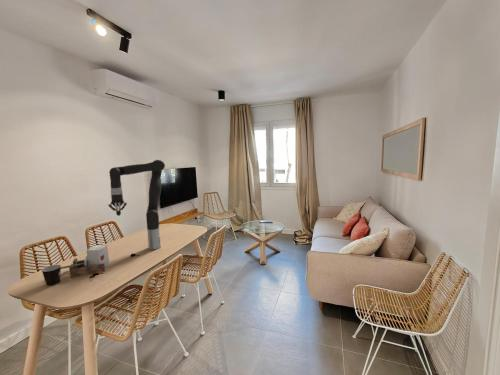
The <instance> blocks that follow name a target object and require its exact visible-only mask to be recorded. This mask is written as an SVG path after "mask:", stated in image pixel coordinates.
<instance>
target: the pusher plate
mask: <svg viewBox="0 0 500 375" xmlns="http://www.w3.org/2000/svg"><path fill="white" fill-rule="evenodd" d="M84 260H85V261H84V263H80V264H75V265H74V266H79V265H84V266H85V267H88V260H87V255H86V257H85V259H84ZM70 266H71V264H70V265H65V266H61V270H63V269H68V268H70Z"/></svg>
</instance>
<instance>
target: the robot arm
mask: <svg viewBox="0 0 500 375" xmlns="http://www.w3.org/2000/svg"><path fill="white" fill-rule="evenodd" d="M165 167H166V165H165V162H164V161H163V160H161V159H155V160H153V161H152V162H148V163H142V164H141V163H139V164H138V163H137V164H130V165H129V164H128V165H125V166H116V167H112V168H110V169H109V178H110V197H111V202H110V203H109V204H107V206H108V207H109V208H110V209H111V210H112V211H114V212H116V215H117V216H118V217H119V216H120V215H121V214H122V210H124V209H125V207H126V206H127V205H128V203H127V202H125V200H124V197H123V187H122V180H121V179H122V178H121V176H125V175H126V176H128V175H134V174H140V173H145V172H151V178H150V182H149V188H148V206H147V210H146V213H145V217H146V230H147V243H148V246H147V247H148V250H150V251H151V250H152V251H153V250H157V249H160V248H161V247H162V245H161V236H160V220H159V218H160V217H159V212H158V206H159V201H160V199H161V192H162V172H163V170H164V169H165Z"/></svg>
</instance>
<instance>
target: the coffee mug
mask: <svg viewBox="0 0 500 375" xmlns="http://www.w3.org/2000/svg"><path fill="white" fill-rule="evenodd" d="M61 267H62V265H61V264H51V265H49V266H46V267H44V268H42V269H41V272H42V276H43V279H44V282H45V285H46V287H53V286H56V285H58V284H60V282H61V275H62V274H61V272H62V271H61V270H62V269H61Z"/></svg>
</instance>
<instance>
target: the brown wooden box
mask: <svg viewBox="0 0 500 375" xmlns="http://www.w3.org/2000/svg"><path fill="white" fill-rule="evenodd" d="M84 261H85V259H82V260H78V258H76V257H75V258H73V260H72V264H70V265H71V266H70V265H69V266H70V267H69V269H68V270H69V276H70V279H74V278H78V277H82V276H83V277H84V276H88V275H92V274H97V273H103V272H106V267H105V264H104V263H103V264H98V265H93V266H88V267H85V266H84V265H79V266H74V265H75V264H80V263H84Z"/></svg>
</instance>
